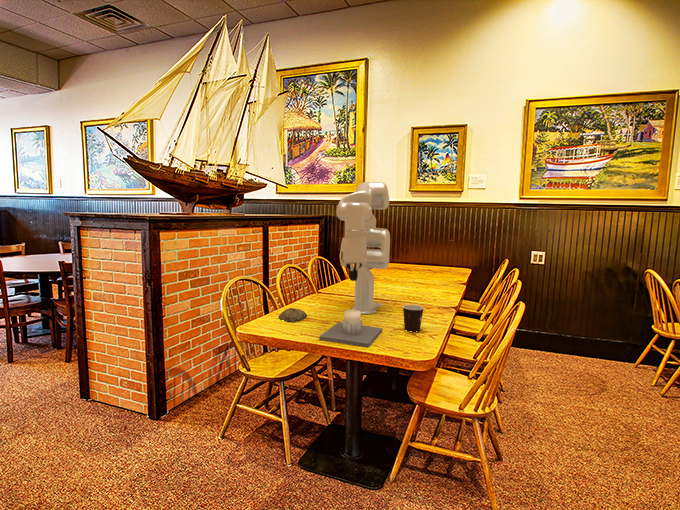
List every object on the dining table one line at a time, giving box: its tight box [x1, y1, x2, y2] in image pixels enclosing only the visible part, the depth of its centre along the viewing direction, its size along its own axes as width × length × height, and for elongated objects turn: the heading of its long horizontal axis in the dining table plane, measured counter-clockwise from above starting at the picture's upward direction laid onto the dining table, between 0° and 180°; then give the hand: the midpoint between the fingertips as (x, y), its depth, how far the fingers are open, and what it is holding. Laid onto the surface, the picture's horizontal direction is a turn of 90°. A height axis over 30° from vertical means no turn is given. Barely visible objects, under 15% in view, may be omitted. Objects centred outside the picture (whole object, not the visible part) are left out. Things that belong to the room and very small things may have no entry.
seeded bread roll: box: [278, 307, 308, 323], centre depth 173 cm, size 13×12×5 cm
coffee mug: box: [402, 304, 424, 333], centre depth 157 cm, size 12×9×10 cm
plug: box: [343, 309, 362, 324], centre depth 150 cm, size 7×7×8 cm
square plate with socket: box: [319, 319, 383, 348], centre depth 150 cm, size 20×20×6 cm
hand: (353, 280), depth 148 cm, fingers closed
